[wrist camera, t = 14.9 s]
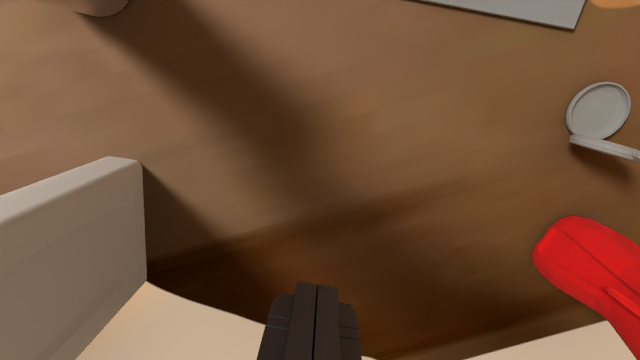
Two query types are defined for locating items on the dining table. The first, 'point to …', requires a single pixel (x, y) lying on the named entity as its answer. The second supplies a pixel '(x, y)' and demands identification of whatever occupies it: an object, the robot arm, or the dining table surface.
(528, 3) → the rubber mat
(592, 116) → the pocket watch
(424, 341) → the dining table surface
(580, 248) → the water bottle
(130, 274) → the grey upright panel
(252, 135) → the dining table surface
